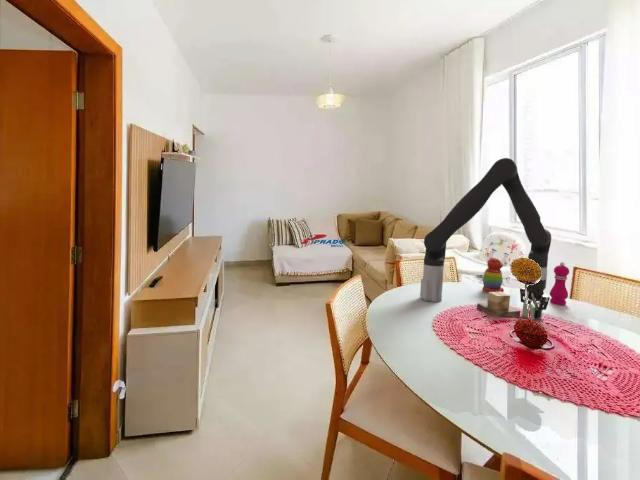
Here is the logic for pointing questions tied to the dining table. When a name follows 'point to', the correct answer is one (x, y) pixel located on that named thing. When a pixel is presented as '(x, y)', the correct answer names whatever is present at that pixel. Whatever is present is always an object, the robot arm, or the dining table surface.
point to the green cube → (532, 311)
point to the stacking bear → (493, 276)
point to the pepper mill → (559, 285)
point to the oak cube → (498, 300)
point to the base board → (498, 312)
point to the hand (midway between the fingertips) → (531, 315)
